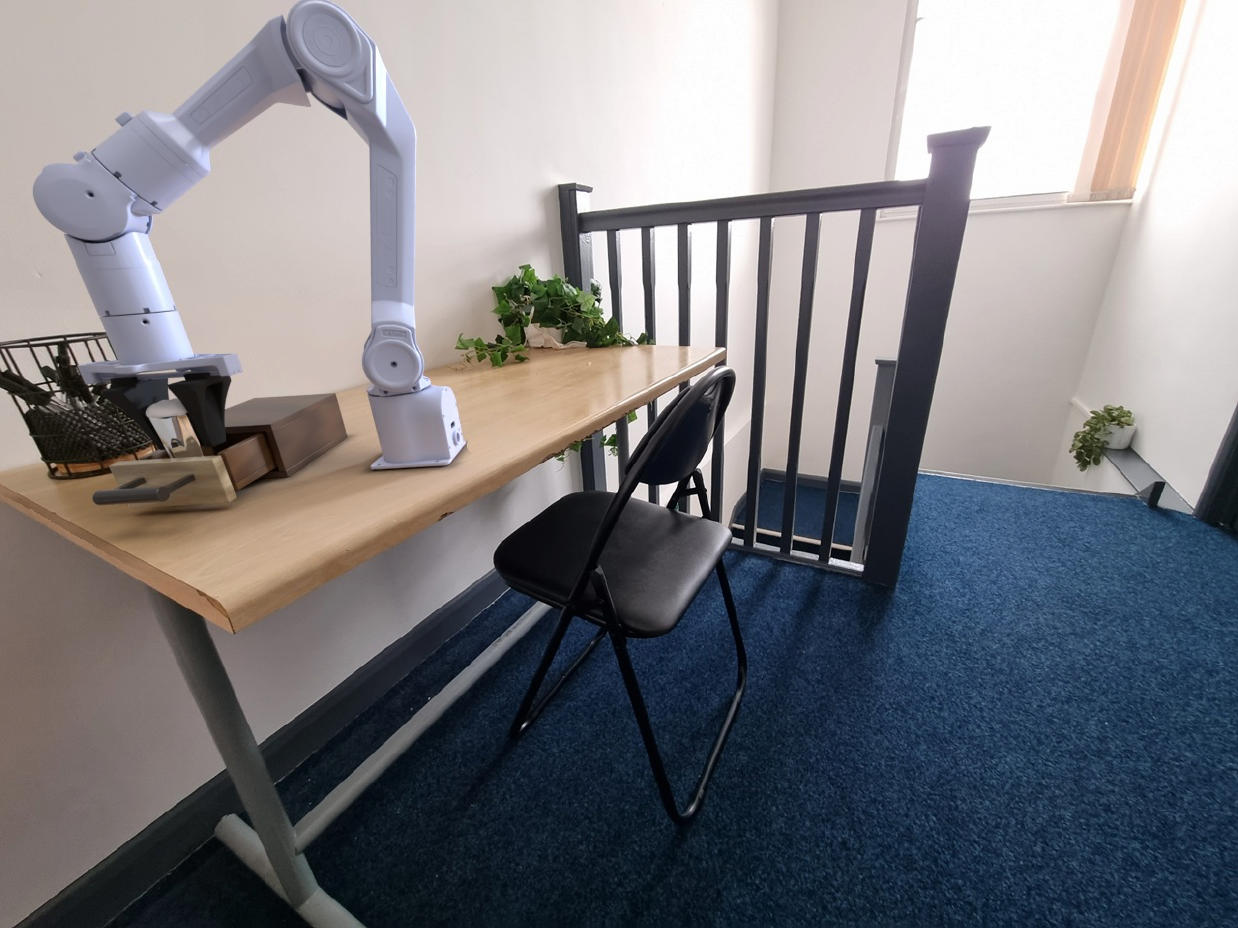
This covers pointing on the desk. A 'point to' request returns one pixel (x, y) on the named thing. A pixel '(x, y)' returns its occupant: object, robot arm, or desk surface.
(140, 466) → the drawer
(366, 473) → the desk surface
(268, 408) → the cabinet
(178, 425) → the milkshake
